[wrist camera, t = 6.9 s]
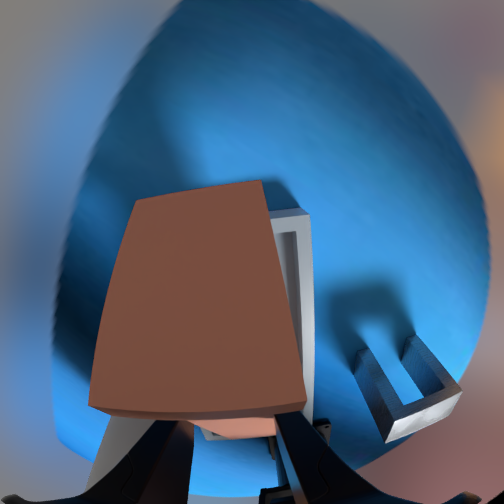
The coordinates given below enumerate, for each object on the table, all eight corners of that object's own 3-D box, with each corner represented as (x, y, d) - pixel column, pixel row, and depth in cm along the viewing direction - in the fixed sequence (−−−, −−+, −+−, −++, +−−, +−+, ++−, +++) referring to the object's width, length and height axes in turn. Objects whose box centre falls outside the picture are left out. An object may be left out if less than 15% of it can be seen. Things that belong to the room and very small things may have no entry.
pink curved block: (273, 355, 19) (286, 441, 15) (217, 362, 19) (222, 447, 15) (260, 179, 9) (307, 400, 4) (136, 200, 9) (88, 405, 4)
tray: (307, 412, 23) (311, 429, 20) (208, 422, 23) (206, 440, 20) (300, 207, 16) (309, 214, 14) (146, 229, 16) (134, 238, 14)
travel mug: (110, 403, 22) (57, 568, 3) (135, 374, 20) (73, 586, 1) (162, 432, 23) (136, 593, 4) (195, 408, 22) (177, 610, 3)
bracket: (410, 359, 21) (449, 415, 14) (353, 375, 21) (384, 443, 14) (416, 334, 20) (462, 390, 13) (357, 351, 20) (394, 421, 13)
